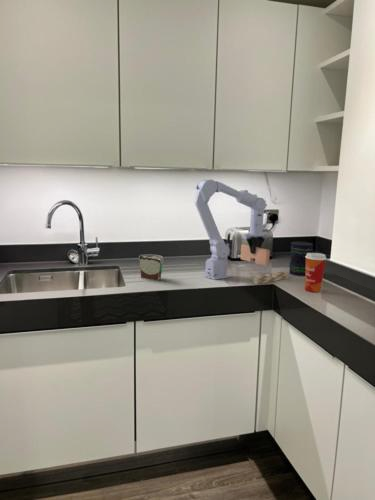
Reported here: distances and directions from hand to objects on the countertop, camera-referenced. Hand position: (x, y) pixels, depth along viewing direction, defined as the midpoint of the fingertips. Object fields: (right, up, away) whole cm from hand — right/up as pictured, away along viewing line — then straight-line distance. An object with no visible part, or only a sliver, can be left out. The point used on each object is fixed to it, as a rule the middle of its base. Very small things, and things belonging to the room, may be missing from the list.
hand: (254, 253), depth 173 cm
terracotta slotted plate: (0, -4, +1) cm, 4 cm away
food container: (-46, -11, -8) cm, 48 cm away
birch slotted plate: (+6, -12, -7) cm, 15 cm away
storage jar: (+23, -10, +7) cm, 26 cm away
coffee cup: (+20, -15, -20) cm, 32 cm away
